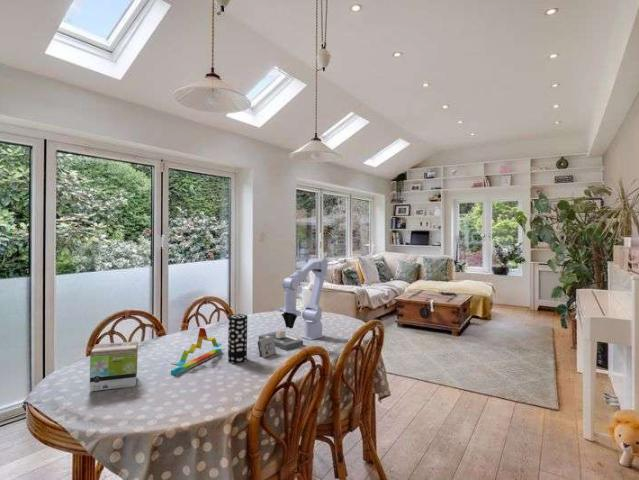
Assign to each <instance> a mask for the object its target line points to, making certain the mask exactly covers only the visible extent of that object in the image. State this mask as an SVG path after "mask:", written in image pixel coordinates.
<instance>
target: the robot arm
mask: <svg viewBox="0 0 639 480" xmlns="http://www.w3.org/2000/svg"><path fill="white" fill-rule="evenodd" d="M328 267H329V264H328V261H327V259H325V258H315V257H310V258H309V259H307V263H306V264H305V265H304V266H303V267H302V268H301V269H296V270H295V272H293V273H292V274H291V275H290V276H288V277H285V278H284V279H283V281H282V283H281V285H282V288H283V292H284V303H283V304H284V306H282V307H279V308H278V309H279V312H280V313H281V312H283V313H282V314H281V316H282V318H283V320H284V325H285V328H288V329H294V325H295V322H296V320H297V318H298V317H301V316H302V317H301V318H302V319H303V321H304V322H305V325H304V335H302V336H301V337H302V338H304V339H308V340H311V341H313V340H317V339H320V338H323V337H324V335H323V323H322V321H321V319H322V317H323V315H322V312H323V309H322V307H321V306H320V301H321V295H322V292H323V291H322V290H323V287H324V282H325V277H326V275H327V271H328ZM310 272H312V274H314V275H315V276H314V280H313V286H312V290H311V294H310V299H309V303H307V304H306V305H304V308H303V310H302V312H301V311H299V310H297V309H296V307H297V306H296V299H297V297H296V294H297V289H298V288H299V285H300V283H301V282H303V280H304V279H305V278H306V275H307V274H308V273H310Z"/></svg>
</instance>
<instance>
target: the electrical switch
mask: <svg viewBox="0 0 639 480" xmlns="http://www.w3.org/2000/svg"><path fill="white" fill-rule="evenodd" d="M257 347H258V352H259V353H258V354H259V357H262V358H267V357H269V356H273V355H276V353H277V350H276V347H275V343H274V338H273V336H271V337H268V338H264V339H261V340H260V341H259V340H258V341H257Z"/></svg>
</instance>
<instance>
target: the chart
mask: <svg viewBox="0 0 639 480" xmlns="http://www.w3.org/2000/svg"><path fill="white" fill-rule="evenodd" d="M197 335H198V336H197V340H196V344H195V343H192V344H191V345H190V348H189V350H183V351H182V355H181V356H180V360H179V361H178V362H177V363H171V364H170V365H172V366H177V367H175V368H173V369H170V375H174V376H178V375H181V374H182V373H184V372H186V371H189V370H190V369H192V368H194V367H196V366H198V365H200V364H202V363H204V362H206V361H208V360H210V359H212V358H214V357H216V356H218V355H219V354H222V353H223V349H222V348H219V347H220V346H222V343H218V342H217V340H216V338H215V337H213V336H212V337H211V336H210V337H208V335H207V331H206V328H203V327H199V331H198V334H197ZM203 341H208V342H211V343H212V346H213V348H214V347H216V348H214V349H212V350H210V351H208V352H206V353H204V354H202V355H200V356H198V357H195V358H194V359H191V360H189V361H187V359H188V356H189V354H194V352H195V351H196V349H202V345H203ZM186 361H187V362H186Z"/></svg>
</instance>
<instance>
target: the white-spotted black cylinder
mask: <svg viewBox="0 0 639 480" xmlns="http://www.w3.org/2000/svg"><path fill="white" fill-rule="evenodd" d="M227 328H228V329H227V330H228V334H227V362H229V363H230V364H243V363H245V362H247V359H248V315H247V314H243V313H242V314H241V313H240V314H239V313H237V314H230V315H228V326H227Z"/></svg>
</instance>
